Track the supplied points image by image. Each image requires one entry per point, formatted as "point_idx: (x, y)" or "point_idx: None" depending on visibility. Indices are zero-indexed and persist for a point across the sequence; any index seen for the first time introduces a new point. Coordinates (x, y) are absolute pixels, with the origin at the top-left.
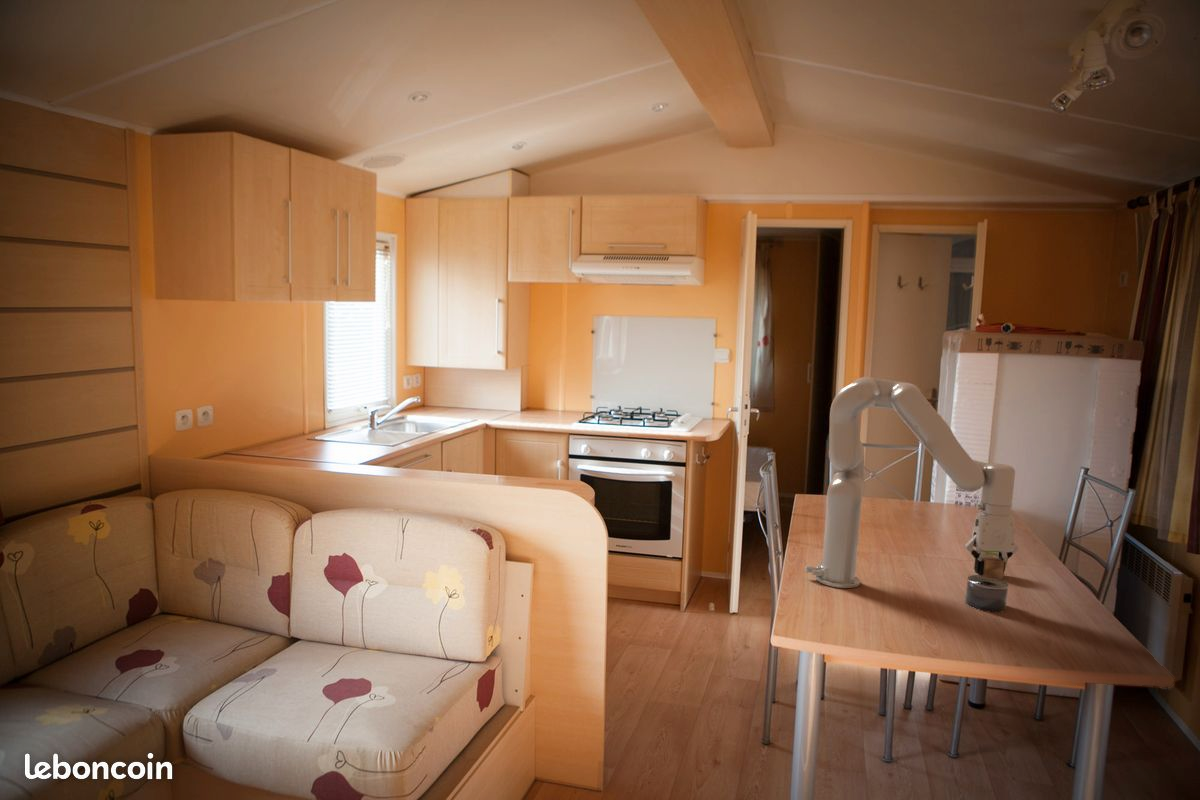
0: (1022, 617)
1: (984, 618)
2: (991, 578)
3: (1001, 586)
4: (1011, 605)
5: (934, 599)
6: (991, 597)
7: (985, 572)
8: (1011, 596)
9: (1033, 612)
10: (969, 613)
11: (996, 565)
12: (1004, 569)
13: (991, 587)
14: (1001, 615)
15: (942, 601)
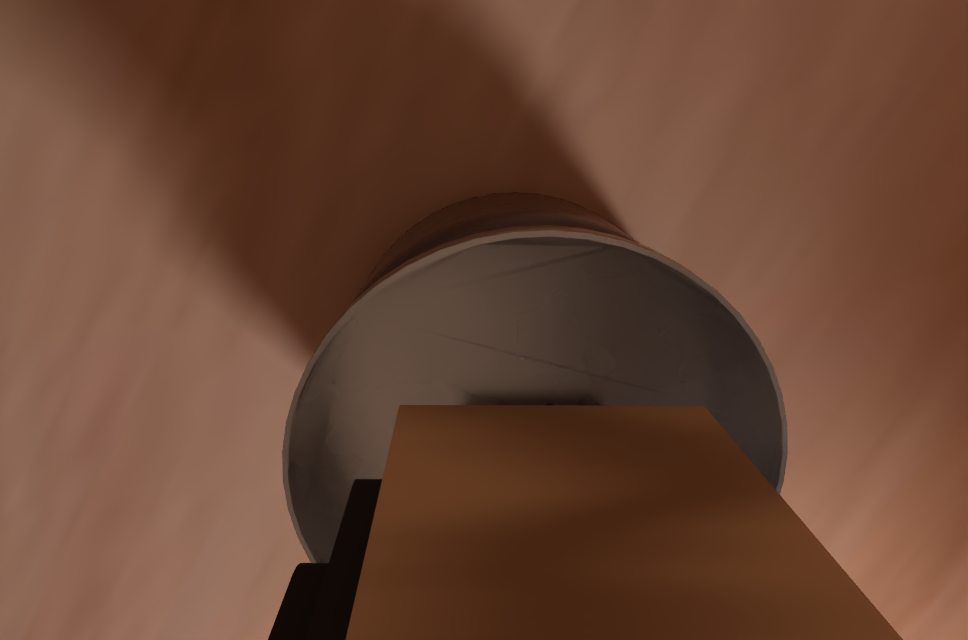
0: (300, 74)
1: (720, 22)
2: (585, 408)
3: (452, 294)
4: (261, 372)
5: (877, 452)
6: (587, 222)
7: (741, 462)
8: (163, 560)
9: (123, 216)
10: (785, 151)
11: (559, 572)
12: (289, 588)
13: (637, 245)
14: (493, 117)
15: (839, 416)
